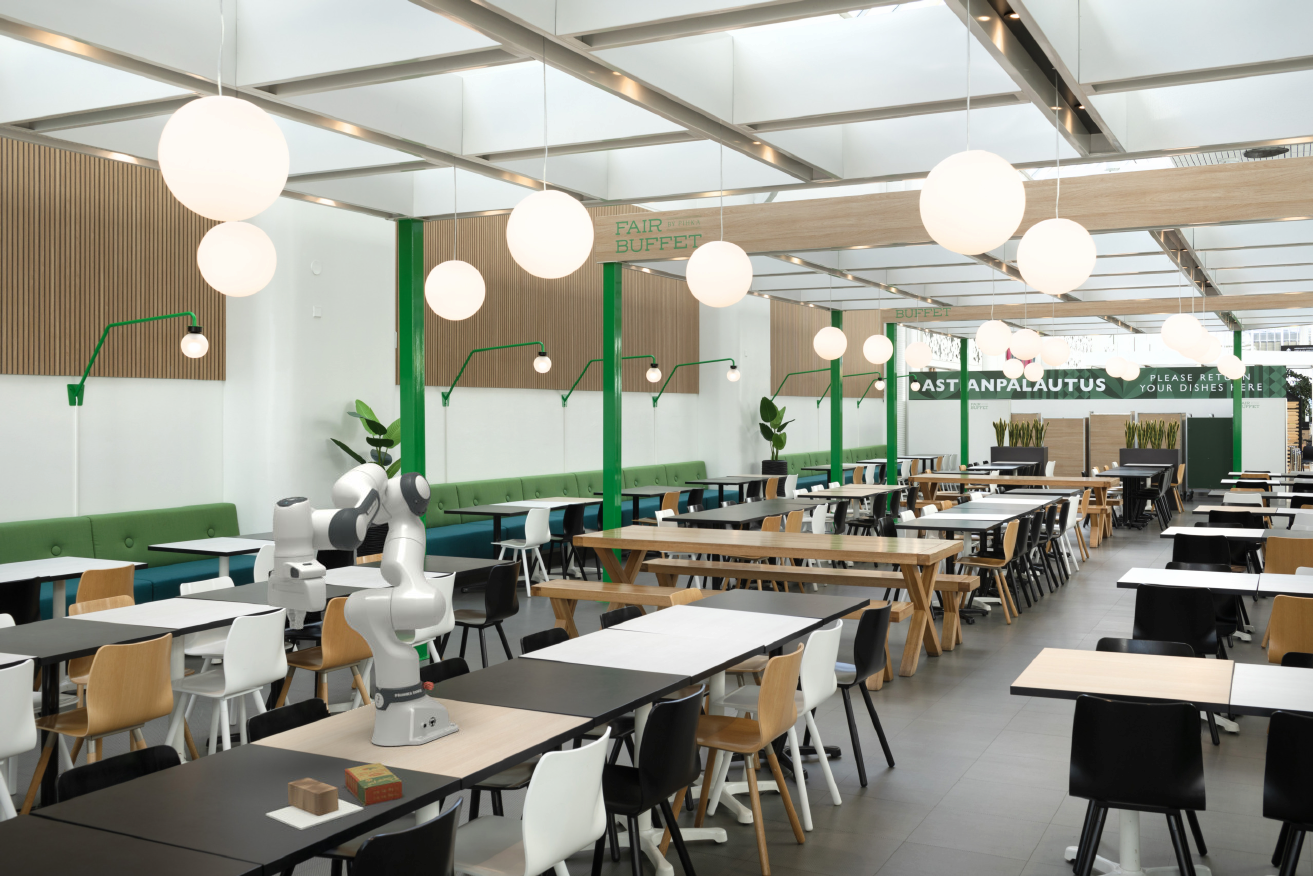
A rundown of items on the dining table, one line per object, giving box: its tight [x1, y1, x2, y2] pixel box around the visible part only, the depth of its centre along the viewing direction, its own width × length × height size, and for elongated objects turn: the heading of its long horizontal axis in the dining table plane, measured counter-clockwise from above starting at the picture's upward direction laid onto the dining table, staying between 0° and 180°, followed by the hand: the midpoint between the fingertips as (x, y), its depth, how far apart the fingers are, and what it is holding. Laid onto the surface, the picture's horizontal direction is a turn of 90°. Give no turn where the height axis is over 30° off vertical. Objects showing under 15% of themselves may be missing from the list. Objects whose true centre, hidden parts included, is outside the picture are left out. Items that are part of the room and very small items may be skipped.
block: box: [287, 777, 339, 816], centre depth 216 cm, size 4×4×12 cm
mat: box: [265, 798, 365, 831], centre depth 213 cm, size 14×14×1 cm
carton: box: [344, 762, 403, 807], centre depth 225 cm, size 8×16×4 cm, turn 31°
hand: (296, 628), depth 238 cm, fingers closed
